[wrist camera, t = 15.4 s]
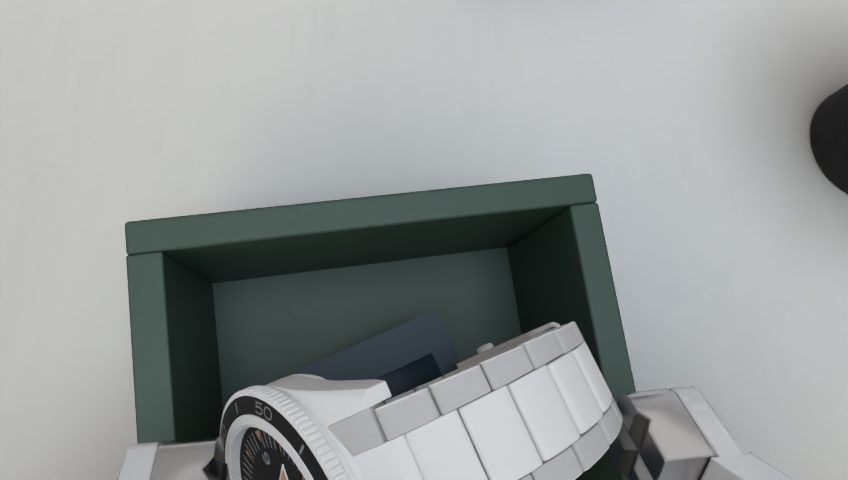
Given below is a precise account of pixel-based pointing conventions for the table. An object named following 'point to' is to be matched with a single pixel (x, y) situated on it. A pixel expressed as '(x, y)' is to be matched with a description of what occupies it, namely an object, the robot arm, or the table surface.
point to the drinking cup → (832, 137)
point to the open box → (359, 289)
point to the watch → (428, 411)
